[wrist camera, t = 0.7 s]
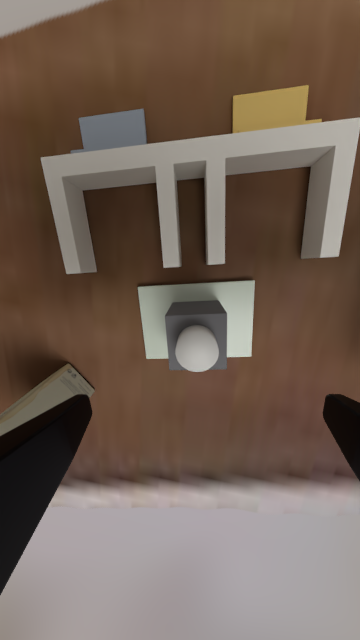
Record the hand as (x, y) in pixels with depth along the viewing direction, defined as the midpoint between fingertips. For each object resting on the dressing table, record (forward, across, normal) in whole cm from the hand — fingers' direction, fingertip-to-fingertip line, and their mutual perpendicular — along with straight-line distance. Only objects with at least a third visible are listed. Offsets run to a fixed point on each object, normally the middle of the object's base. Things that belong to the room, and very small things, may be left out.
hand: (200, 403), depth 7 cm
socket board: (+11, 0, -10) cm, 14 cm away
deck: (+11, 0, 0) cm, 11 cm away
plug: (+10, 0, 0) cm, 10 cm away
